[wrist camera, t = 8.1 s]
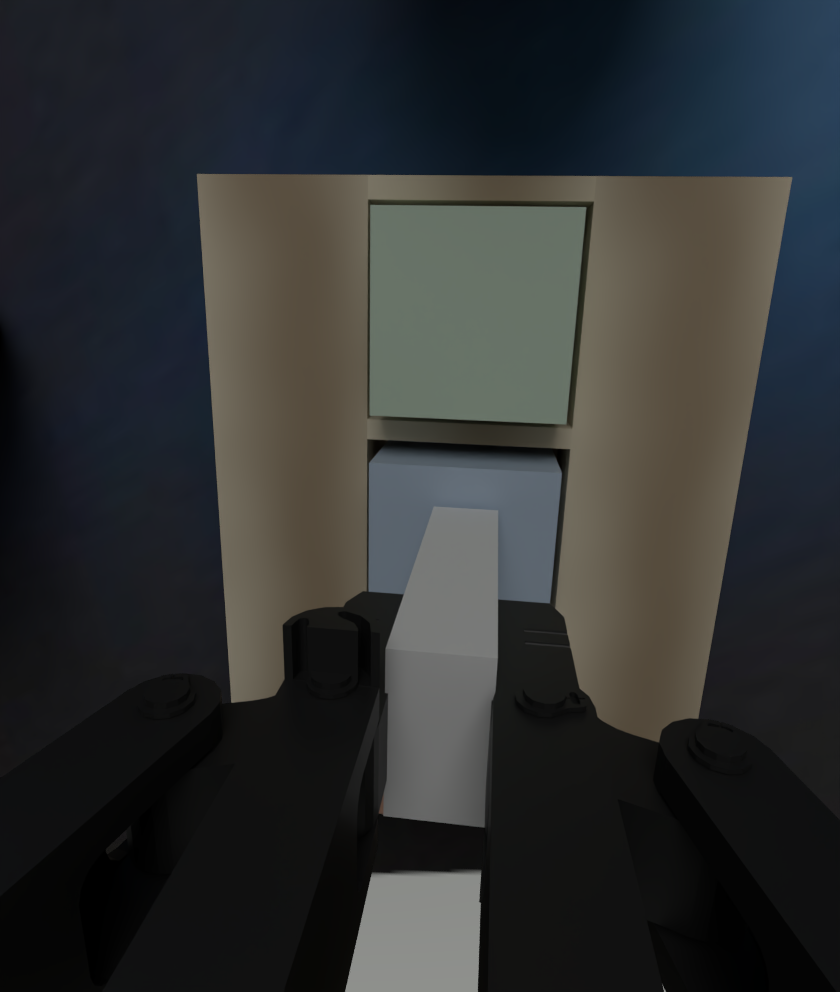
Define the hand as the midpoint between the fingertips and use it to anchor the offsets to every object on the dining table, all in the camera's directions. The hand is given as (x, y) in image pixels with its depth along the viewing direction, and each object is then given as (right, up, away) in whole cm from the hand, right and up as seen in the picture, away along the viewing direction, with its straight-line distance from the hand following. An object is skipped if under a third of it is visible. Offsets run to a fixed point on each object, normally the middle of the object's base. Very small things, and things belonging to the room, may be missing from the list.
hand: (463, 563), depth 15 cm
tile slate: (0, +1, +3) cm, 3 cm away
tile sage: (0, +6, +2) cm, 6 cm away
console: (0, +1, +5) cm, 5 cm away
